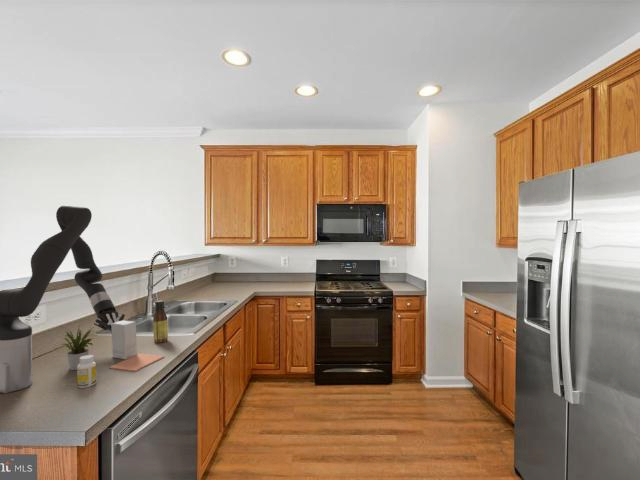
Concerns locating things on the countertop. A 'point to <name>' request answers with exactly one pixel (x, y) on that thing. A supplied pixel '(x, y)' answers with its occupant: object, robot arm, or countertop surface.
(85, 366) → the supplement bottle
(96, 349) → the countertop surface
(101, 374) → the countertop surface
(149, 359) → the plate
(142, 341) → the countertop surface
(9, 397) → the countertop surface
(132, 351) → the skincare box
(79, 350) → the house plant
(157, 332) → the sauce bottle
